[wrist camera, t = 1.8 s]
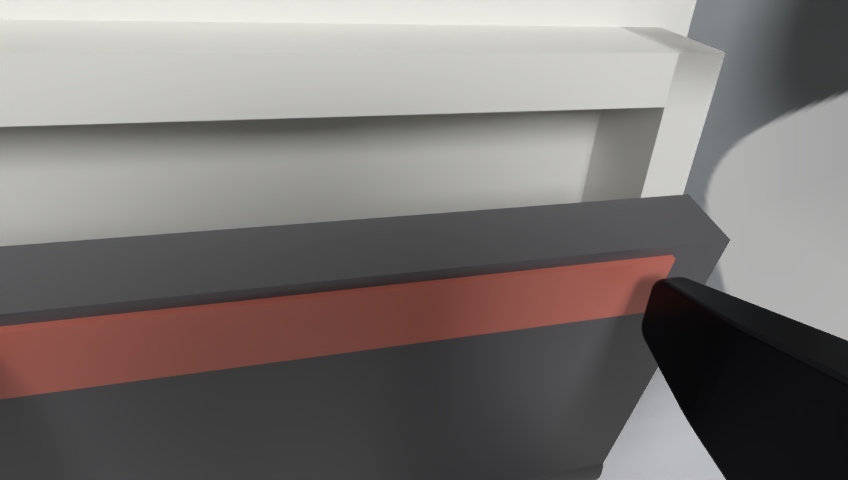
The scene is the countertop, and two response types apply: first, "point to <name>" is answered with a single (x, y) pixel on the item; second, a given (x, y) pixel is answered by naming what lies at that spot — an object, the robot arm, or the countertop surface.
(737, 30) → the countertop surface
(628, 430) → the countertop surface
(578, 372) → the panel
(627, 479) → the countertop surface
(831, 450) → the robot arm
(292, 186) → the breaker box
